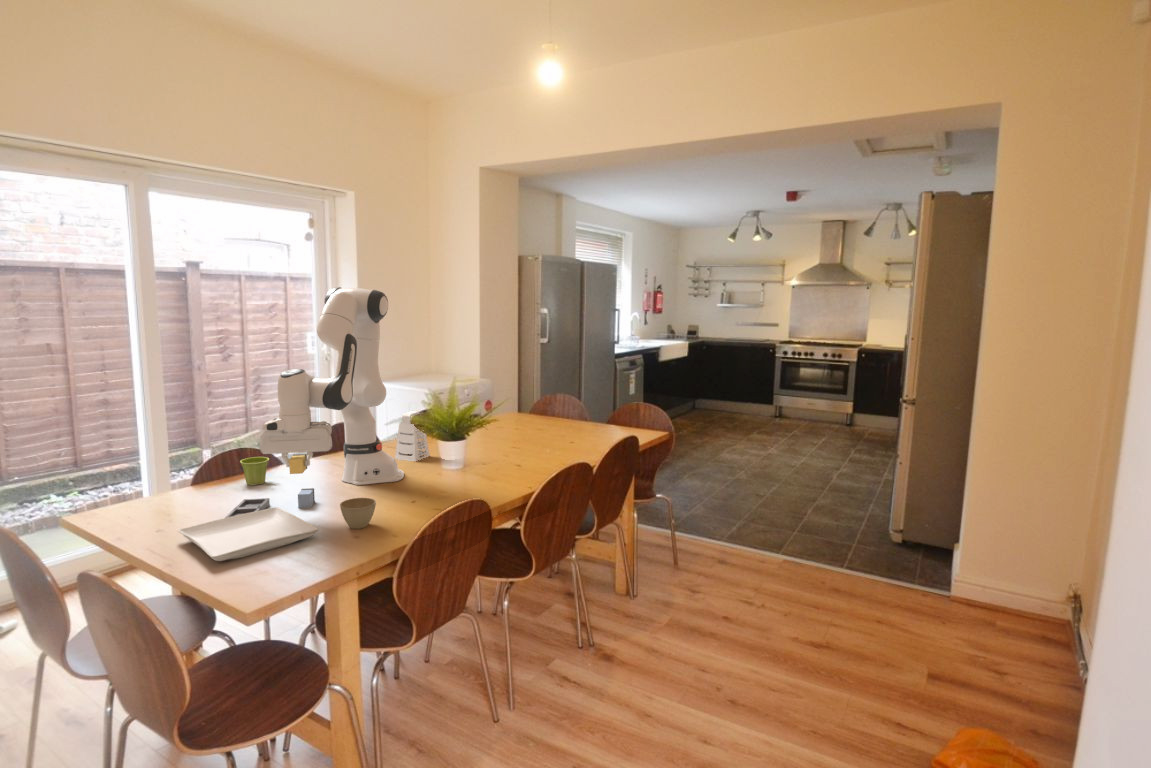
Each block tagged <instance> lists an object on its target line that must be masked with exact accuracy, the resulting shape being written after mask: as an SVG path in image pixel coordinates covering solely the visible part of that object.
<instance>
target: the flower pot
mask: <svg viewBox="0 0 1151 768" xmlns="http://www.w3.org/2000/svg"><path fill="white" fill-rule="evenodd" d="M339 504H340V505H339V507H340V511H341V514H342V517H343V520H344V521H345V523H346V524H347V526H348V527H349V528H350V529H353V530H354V529H355V530H358V529H363V528H366V527H367V526H368V525H369V524H370V522H371V520H372V518H373V516H374V513H375V510H376V505H377V502H376V499H373V498H371V497H353V498H348V499H345V500H343V501H341V502H340V503H339Z"/></svg>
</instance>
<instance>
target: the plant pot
mask: <svg viewBox="0 0 1151 768" xmlns="http://www.w3.org/2000/svg"><path fill="white" fill-rule="evenodd" d="M269 460H270V458H269V457H266V456H253V457H247V458H244V459H241V460H240V461H239V463H240V464H241V466H242V468H243V469H242V470H243V475H244V479H245V484H247V485H248V486H255V485H263V484H265V482H266V475H267V467H268V463H269Z"/></svg>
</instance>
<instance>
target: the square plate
mask: <svg viewBox="0 0 1151 768" xmlns="http://www.w3.org/2000/svg"><path fill="white" fill-rule="evenodd" d="M318 531H319V528H317V527H316V526H314V525H312V524H311V523H309V522H307V521H305V520H303V519H302V518H300V517H298V516H296V515H295V514H293V513H291V512H289V511H287V510H286V509H285V510H284V509H282V508H280V507H272V508H266V509H265V510H260V511H255V512H250V513H245V514H241V515H236V516H232V517H227V518H225V517H224V518H219V519H216V520H212V521H208V522H203V523H201V524H196V525H191V526H187V527H184V528H179V529H178V530H177V532H178V533H180V534H181V535H182V536H183V537H184V538H186V539H187V540H189V541H190V542H191V543H194V545H196V546H197V547H199V548H200V549H201V550H202V551H204V553H205V554H206V555H208V557H210V559H212V560H214V561H216V562H222V561H227V560H235V559H240V558H244V557H247V556H251V555H255V554H257V553H262V552H266V551H269V550H273V549H275V548H276V549H277V548H280V547H284V546H286V545H290V544H293V543H295V542H297V541H299V542H300V541H301V540H302V541H303V540H305V539H308V538H310V537H312V536H314V535H315V534H316V533H317V532H318Z"/></svg>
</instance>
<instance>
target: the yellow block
mask: <svg viewBox="0 0 1151 768" xmlns="http://www.w3.org/2000/svg"><path fill="white" fill-rule="evenodd" d="M307 458H308V455H307V453H302V454H301V453H300V454H299V453H298V454H296V453H295V454H292V456H291V457H290V458H289V467H288V468H289V474H290V475H297V474H303V473H304V472H305V471H306V470H307V469H308V466H304V460H305V459H307Z"/></svg>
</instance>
